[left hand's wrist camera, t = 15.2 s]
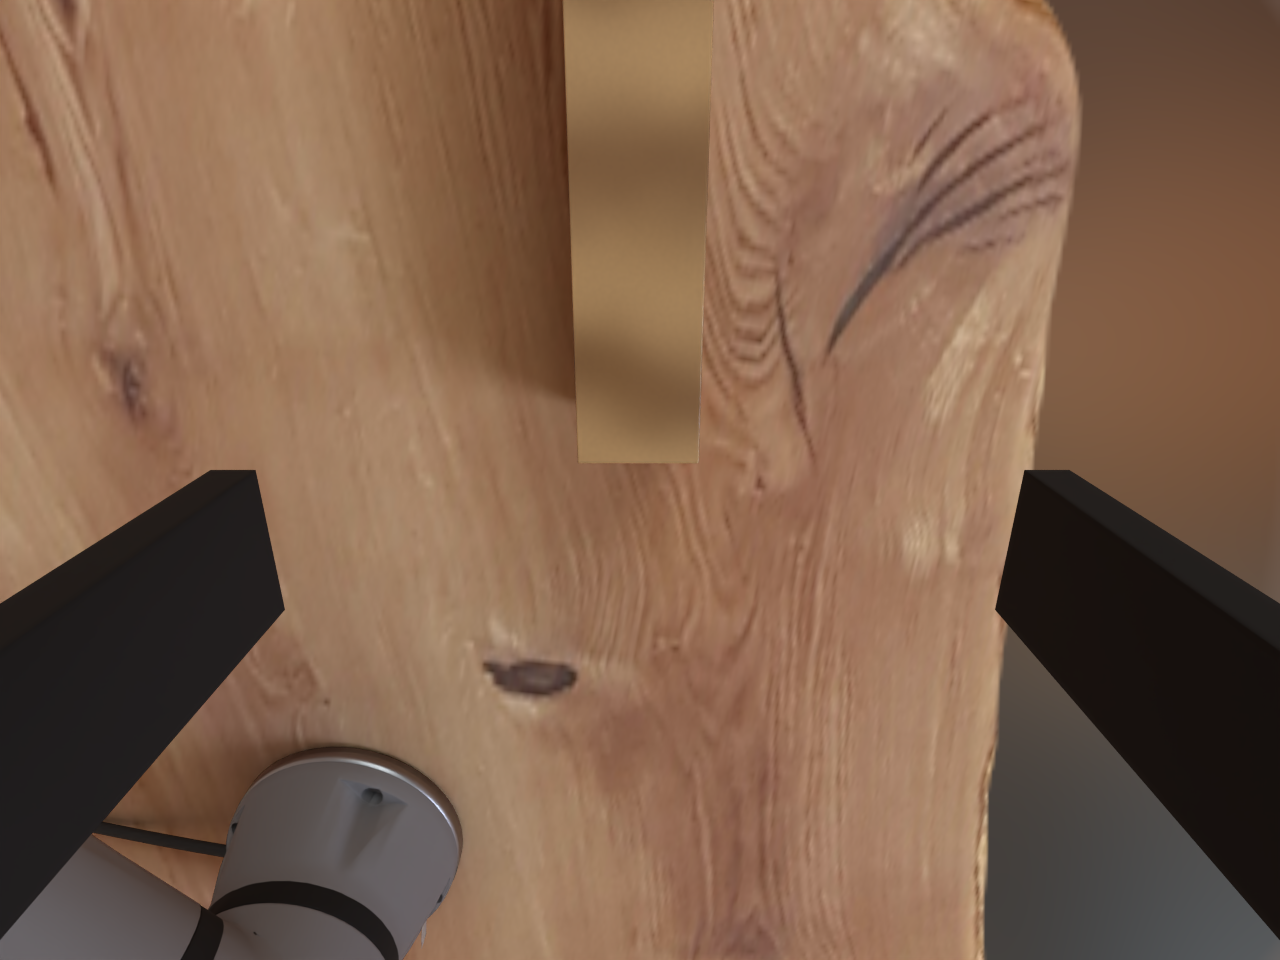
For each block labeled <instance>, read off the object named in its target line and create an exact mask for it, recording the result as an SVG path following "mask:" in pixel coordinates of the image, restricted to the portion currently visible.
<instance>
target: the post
mask: <svg viewBox="0 0 1280 960" xmlns="http://www.w3.org/2000/svg"><path fill="white" fill-rule="evenodd" d="M713 10H714V0H563V31H564V61H565V91H566V121H567V152H568V182H569V212H570V242H571V273H572V303H573V333H574V364H575V394H576V424H577V454H578V463H699V436H700V406H701V375H702V345H703V315H704V284H705V254H706V223H707V193H708V163H709V132H710V102H711V71H712V41H713Z"/></svg>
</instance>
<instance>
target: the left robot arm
mask: <svg viewBox="0 0 1280 960" xmlns="http://www.w3.org/2000/svg"><path fill="white" fill-rule="evenodd" d="M284 610H285V608H284V603H283V599H282V594H281V589H280V584H279V580H278V575H277V570H276V565H275V561H274V556H273V551H272V546H271V542H270V537H269V532H268V527H267V523H266V518H265V513H264V508H263V503H262V499H261V494H260V489H259V484H258V480H257V475H256V470H210V471H208V472H207V473H205V474H204V475H202V476H201V477H199V478H197V479H196V480H194V481H193V482H191V483H190V484H188V485H186V486H185V487H183V488H182V489H180V490H178V491H177V492H175V493H174V494H172V495H171V496H169V497H167V498H166V499H164V500H163V501H161V502H160V503H158V504H156V505H155V506H153V507H152V508H150V509H149V510H147V511H145V512H144V513H142V514H141V515H139V516H138V517H136V518H134V519H133V520H131V521H130V522H128V523H127V524H125V525H123V526H122V527H120V528H119V529H117V530H116V531H114V532H112V533H111V534H109V535H108V536H106V537H104V538H103V539H101V540H100V541H98V542H97V543H95V544H93V545H92V546H90V547H89V548H87V549H86V550H84V551H82V552H81V553H79V554H78V555H76V556H75V557H73V558H71V559H70V560H68V561H67V562H65V563H64V564H62V565H60V566H59V567H57V568H56V569H54V570H53V571H51V572H49V573H48V574H46V575H45V576H43V577H41V578H40V579H38V580H37V581H35V582H34V583H32V584H30V585H29V586H27V587H26V588H24V589H23V590H21V591H19V592H18V593H16V594H15V595H13V596H12V597H10V598H8V599H7V600H5V601H4V602H2V603H1V604H0V960H403V958H404V957H405V955H406V954H407V952H408V951H409V949H410V948H411V946H412V945H413V943H414V941H415V940H416V938H417V936H418V934H419V933H420V931H421V929H422V946H423V942H424V939H425V935H426V920H427V918H429V917H430V916H431V915H432V914H433V913H434V912H435V910H436V909H437V908H438V907H439V905H440V904H441V903H442V901H443V900H444V898H445V896H446V895H447V893H448V891H449V888H450V886H451V884H452V882H453V880H454V877H455V874H456V871H457V868H458V864H459V860H460V857H461V852H462V843H463V838H462V830H461V825H460V822H459V819H458V816H457V814H456V812H455V810H454V808H453V806H452V804H451V803H450V801H449V800H448V798H447V797H446V796H445V795H444V793H443V792H442V791H441V790H440V789H439V788H438V787H437V786H436V785H435V784H434V783H433V782H432V781H431V780H429V779H428V778H427V777H426V776H424V775H423V774H422V773H420V772H419V771H417V770H415V769H414V768H412V767H411V766H409V765H407V764H405V763H403V762H401V761H399V760H396V759H394V758H391V757H389V756H386V755H383V754H380V753H376V752H372V751H368V750H363V749H357V748H347V747H325V748H316V749H310V750H306V751H301V752H298V753H295V754H292V755H290V756H287V757H285V758H283V759H281V760H279V761H277V762H275V763H274V764H272V765H271V766H269V767H268V768H267V769H265V770H264V771H263V772H262V773H261V774H260V775H259V776H258V777H257V778H256V779H255V781H254V782H253V783H252V785H251V786H250V788H249V790H248V791H247V793H246V794H245V796H244V797H243V799H242V800H241V802H240V803H239V806H238V808H237V810H236V812H235V814H234V816H233V818H232V821H231V824H230V827H229V831H228V835H227V841H226V845H224V844H218V843H212V842H206V841H200V840H194V839H189V838H183V837H178V836H172V835H167V834H162V833H156V832H151V831H146V830H141V829H136V828H131V827H126V826H120V825H115V824H110V823H105V822H102V821H103V820H104V819H105V818H106V817H107V816H108V814H109V813H110V812H111V811H112V810H113V809H114V807H115V806H116V805H117V804H118V803H119V802H120V800H121V799H122V798H123V797H124V796H125V795H126V793H127V792H128V791H129V790H130V789H131V788H132V786H133V785H134V784H135V783H136V782H137V781H138V780H139V778H140V777H141V776H142V775H143V774H144V773H145V771H146V770H147V769H148V768H149V767H150V766H151V764H152V763H153V762H154V761H155V760H156V759H157V757H158V756H159V755H160V754H161V753H162V752H163V751H164V749H165V748H166V747H167V746H168V745H169V744H170V742H171V741H172V740H173V739H174V738H175V737H176V735H177V734H178V733H179V732H180V731H181V730H182V728H183V727H184V726H185V725H186V724H187V723H188V721H189V720H190V719H191V718H192V717H193V716H194V715H195V713H196V712H197V711H198V710H199V709H200V708H201V706H202V705H203V704H204V703H205V702H206V701H207V699H208V698H209V697H210V696H211V695H212V694H213V692H214V691H215V690H216V689H217V688H218V687H219V686H220V684H221V683H222V682H223V681H224V680H225V679H226V677H227V676H228V675H229V674H230V673H231V672H232V670H233V669H234V668H235V667H236V666H237V665H238V663H239V662H240V661H241V660H242V659H243V658H244V656H245V655H246V654H247V653H248V652H249V651H250V650H251V648H252V647H253V646H254V645H255V644H256V643H257V641H258V640H259V639H260V638H261V637H262V636H263V634H264V633H265V632H266V631H267V630H268V629H269V627H270V626H271V625H272V624H273V623H274V622H275V621H276V619H277V618H278V617H279V616H280V615H281V614H282V612H283V611H284ZM995 610H996V611H997V612H998V614H999V615H1000V616H1001V617H1002V618H1003V619H1004V621H1005V622H1006V623H1007V624H1008V625H1009V626H1010V627H1011V629H1012V630H1013V631H1014V632H1015V633H1016V634H1017V636H1018V637H1019V638H1020V639H1021V640H1022V641H1023V643H1024V644H1025V645H1026V646H1027V647H1028V648H1029V650H1030V651H1031V652H1032V653H1033V654H1034V655H1035V656H1036V658H1037V659H1038V660H1039V661H1040V662H1041V663H1042V665H1043V666H1044V667H1045V668H1046V669H1047V670H1048V672H1049V673H1050V674H1051V675H1052V676H1053V677H1054V679H1055V680H1056V681H1057V682H1058V683H1059V684H1060V686H1061V687H1062V688H1063V689H1064V690H1065V691H1066V692H1067V694H1068V695H1069V696H1070V697H1071V698H1072V699H1073V701H1074V702H1075V703H1076V704H1077V705H1078V706H1079V708H1080V709H1081V710H1082V711H1083V712H1084V713H1085V715H1086V716H1087V717H1088V718H1089V719H1090V720H1091V721H1092V723H1093V724H1094V725H1095V726H1096V727H1097V728H1098V730H1099V731H1100V732H1101V733H1102V734H1103V735H1104V737H1105V738H1106V739H1107V740H1108V741H1109V742H1110V744H1111V745H1112V746H1113V747H1114V748H1115V749H1116V751H1117V752H1118V753H1119V754H1120V755H1121V756H1122V757H1123V759H1124V760H1125V761H1126V762H1127V763H1128V764H1129V766H1130V767H1131V768H1132V769H1133V770H1134V771H1135V772H1136V774H1137V775H1138V776H1139V777H1140V778H1141V779H1142V781H1143V782H1144V783H1145V784H1146V785H1147V787H1148V788H1149V789H1150V790H1151V791H1152V792H1153V793H1154V795H1155V796H1156V797H1157V798H1158V799H1159V800H1160V802H1161V803H1162V804H1163V805H1164V806H1165V807H1166V809H1167V810H1168V811H1169V812H1170V813H1171V814H1172V816H1173V817H1174V818H1175V819H1176V820H1177V821H1178V822H1179V824H1180V825H1181V826H1182V827H1183V828H1184V829H1185V831H1186V832H1187V833H1188V834H1189V835H1190V836H1191V838H1192V839H1193V840H1194V841H1195V842H1196V843H1197V845H1198V846H1199V847H1200V848H1201V849H1202V850H1203V852H1204V853H1205V854H1206V855H1207V856H1208V857H1209V858H1210V860H1211V861H1212V862H1213V863H1214V864H1215V865H1216V867H1217V868H1218V869H1219V870H1220V871H1221V872H1222V873H1223V875H1224V876H1225V877H1226V878H1227V879H1228V880H1229V882H1230V883H1231V884H1232V885H1233V886H1234V887H1235V889H1236V890H1237V891H1238V892H1239V893H1240V894H1241V896H1242V897H1243V898H1244V899H1245V900H1246V901H1247V903H1248V904H1249V905H1250V906H1251V907H1252V908H1253V910H1254V911H1255V912H1256V913H1257V914H1258V915H1259V916H1260V918H1261V919H1262V920H1263V921H1264V922H1265V923H1266V925H1267V926H1268V927H1269V928H1270V929H1271V930H1272V931H1273V933H1274V934H1275V935H1276V936H1277V937H1278V939H1279V940H1280V604H1279V603H1278V602H1276V601H1275V600H1273V599H1272V598H1270V597H1268V596H1267V595H1265V594H1264V593H1262V592H1260V591H1259V590H1257V589H1256V588H1254V587H1253V586H1251V585H1250V584H1248V583H1246V582H1245V581H1243V580H1242V579H1240V578H1238V577H1237V576H1235V575H1234V574H1232V573H1231V572H1229V571H1227V570H1226V569H1224V568H1223V567H1221V566H1220V565H1218V564H1216V563H1215V562H1213V561H1212V560H1210V559H1209V558H1207V557H1205V556H1204V555H1202V554H1201V553H1199V552H1198V551H1196V550H1194V549H1193V548H1191V547H1190V546H1188V545H1187V544H1185V543H1183V542H1182V541H1180V540H1179V539H1177V538H1175V537H1174V536H1172V535H1171V534H1169V533H1168V532H1166V531H1164V530H1163V529H1161V528H1160V527H1158V526H1157V525H1155V524H1153V523H1152V522H1150V521H1149V520H1147V519H1146V518H1144V517H1142V516H1141V515H1139V514H1138V513H1136V512H1135V511H1133V510H1131V509H1130V508H1128V507H1127V506H1125V505H1123V504H1122V503H1120V502H1119V501H1117V500H1116V499H1114V498H1113V497H1111V496H1109V495H1108V494H1106V493H1105V492H1103V491H1102V490H1100V489H1098V488H1097V487H1095V486H1094V485H1092V484H1090V483H1089V482H1087V481H1086V480H1084V479H1083V478H1081V477H1079V476H1078V475H1076V474H1075V473H1073V472H1071V471H1070V470H1024V475H1023V480H1022V484H1021V489H1020V494H1019V499H1018V503H1017V508H1016V513H1015V518H1014V522H1013V527H1012V532H1011V537H1010V542H1009V546H1008V551H1007V556H1006V561H1005V565H1004V570H1003V575H1002V580H1001V584H1000V589H999V594H998V599H997V603H996V608H995ZM92 833H98V834H102V835H107V836H112V837H118V838H123V839H128V840H133V841H138V842H143V843H148V844H153V845H158V846H163V847H169V848H174V849H179V850H185V851H191V852H196V853H202V854H208V855H214V856H219V857H224V859H223V861H222V864H221V867H220V870H219V874H218V878H217V882H216V886H215V890H214V894H213V898H212V902H211V905H210V907H209V909H208V910H207V909H205V908H204V907H202V906H201V905H200V904H199V903H197V902H196V901H194V900H192V899H191V898H189V897H188V896H186V895H185V894H183V893H181V892H180V891H178V890H177V889H175V888H174V887H172V886H170V885H169V884H167V883H166V882H164V881H162V880H161V879H159V878H158V877H156V876H155V875H153V874H151V873H150V872H148V871H147V870H145V869H144V868H142V867H140V866H139V865H137V864H136V863H134V862H133V861H131V860H129V859H128V858H126V857H125V856H123V855H121V854H120V853H118V852H117V851H115V850H114V849H112V848H111V847H109V846H108V845H106V844H105V843H103V842H102V841H100V840H99V839H97V838H96V837H94V836H93V835H91V834H92ZM422 946H421V949H422Z"/></svg>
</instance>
